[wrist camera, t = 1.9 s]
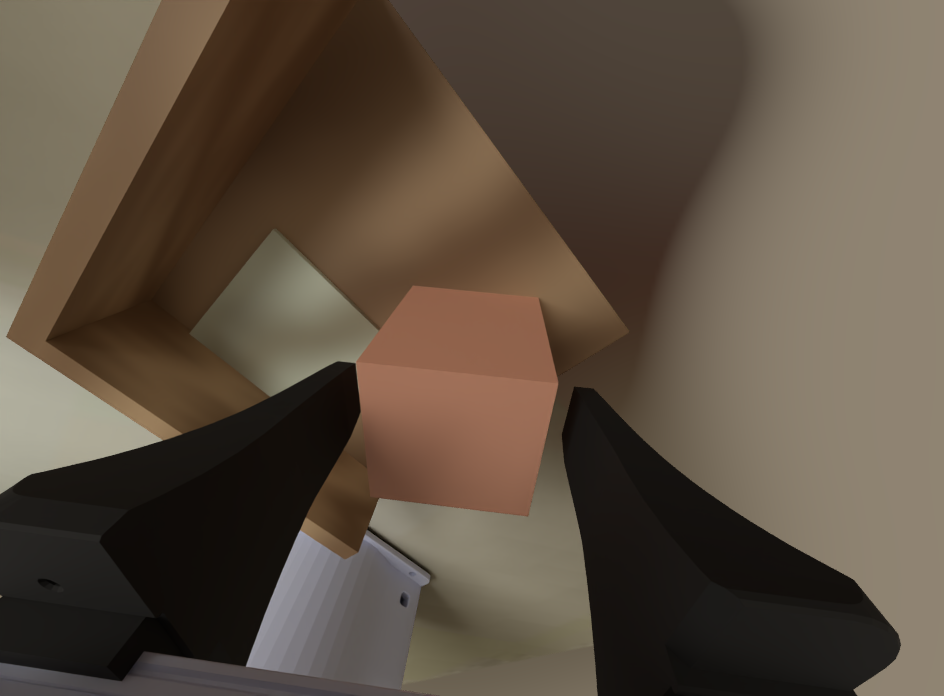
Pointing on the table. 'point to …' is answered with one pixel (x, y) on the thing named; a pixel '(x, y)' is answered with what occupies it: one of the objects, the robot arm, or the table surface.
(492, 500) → the cube
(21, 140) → the table surface
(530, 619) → the table surface
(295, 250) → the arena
